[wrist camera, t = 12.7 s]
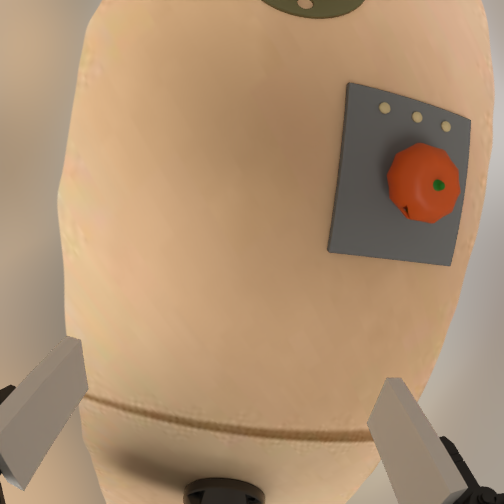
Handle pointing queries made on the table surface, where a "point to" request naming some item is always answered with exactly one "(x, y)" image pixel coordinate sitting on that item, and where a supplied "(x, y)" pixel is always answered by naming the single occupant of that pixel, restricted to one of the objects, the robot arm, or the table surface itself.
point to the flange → (316, 7)
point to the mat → (375, 177)
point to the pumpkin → (423, 183)
